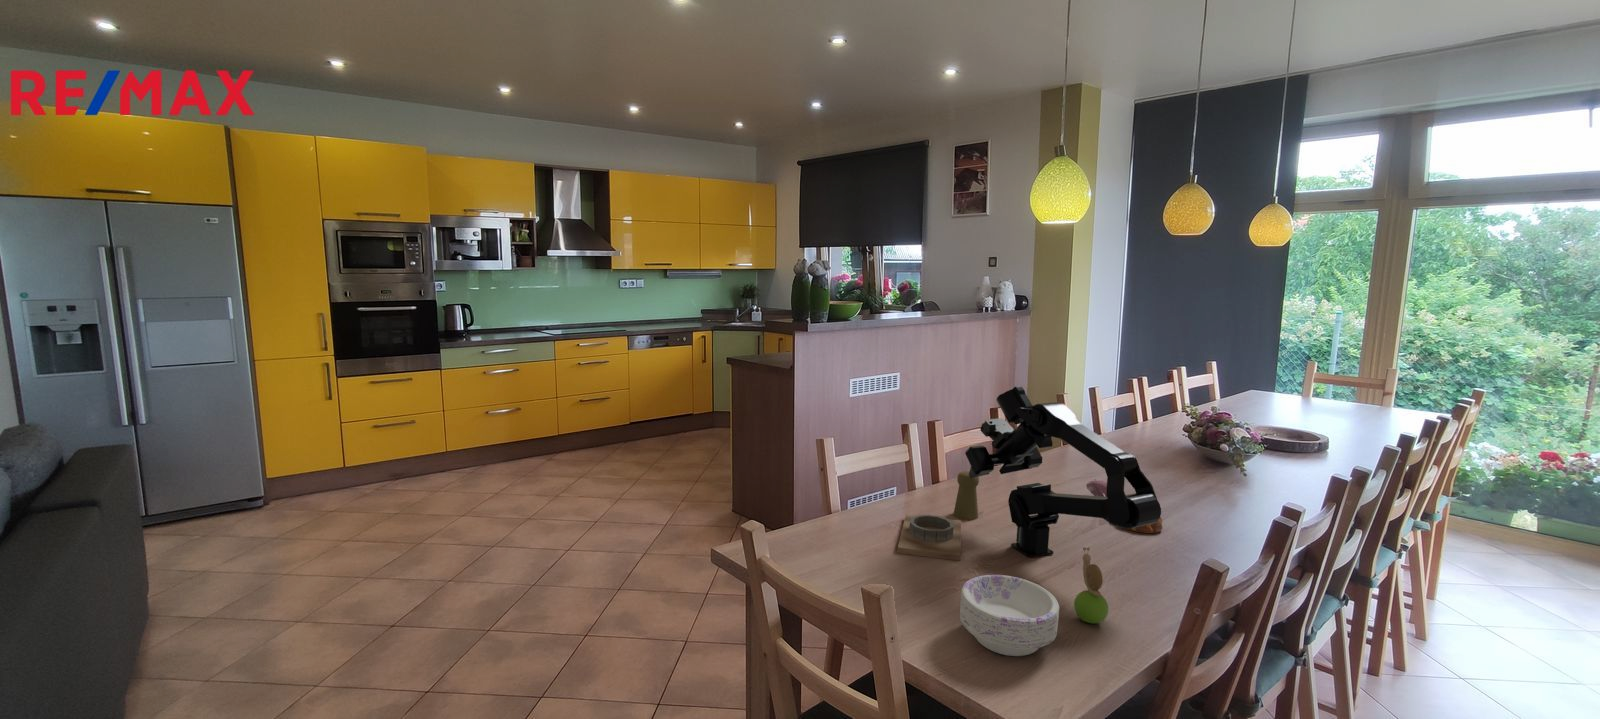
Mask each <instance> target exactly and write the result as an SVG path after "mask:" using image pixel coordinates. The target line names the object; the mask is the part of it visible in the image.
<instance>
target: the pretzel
mask: <svg viewBox="0 0 1600 719" xmlns="http://www.w3.org/2000/svg"><path fill="white" fill-rule="evenodd" d="M1122 529H1123V530H1127V531H1133V532H1136V533H1142V534H1156V533H1160V532H1161V531H1162V530H1163V519H1162V517H1161V516H1160V518H1159V520H1158V521H1157V522H1156V523H1152V524H1148V525H1143V526H1139V527H1135V528H1129V529H1126V528H1122Z"/></svg>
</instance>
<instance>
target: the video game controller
mask: <svg viewBox="0 0 1600 719" xmlns="http://www.w3.org/2000/svg"><path fill="white" fill-rule="evenodd" d="M1086 489H1087V490H1088V491H1089V493H1091V494H1092V496H1102V497H1107V494H1106V491H1107V481H1106V480H1105V481H1104V480H1097V479H1093V480H1091V481H1089V482H1088V483H1087V484H1086Z"/></svg>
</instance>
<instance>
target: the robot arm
mask: <svg viewBox="0 0 1600 719" xmlns="http://www.w3.org/2000/svg"><path fill="white" fill-rule="evenodd" d="M996 402H997V405H998V406H999V408H1000V410H1001V411H1002V413H1003V415H1004V416H1005V419H1006V420H1007V421H1006V420H1005V419H1004V418H1000V417H999V418H989V419H988V420H985V421H984V422H982V424H981V426H980V432H981V433H982V434H983V435H984V436H985V437H988V438H990V439H991V440H992V442H991V446H992V447H993V449H995V453H991V454H990V453H989V451H988V448H987V446H984V445H974V446H969V447H968V448H967V449H966V450H965V453H964V454H965V455H966V456H965V457H966V459H967V460H968V462H969V464H970V469H969V471H970V472H969V477H970V478H976V477H979V478H980V477H983V476H988V475H990V473H992V472H993V471H994V469H995V466H997V465H1002V466H1001V467H1000V469H999V470H998V471H999V473H1000V475H1006V474H1010V473H1015V472H1021V471H1025V470H1031V469H1033V468H1038V467H1040V465H1042V463H1043V456H1042V454H1041V453H1040V450H1039V449H1044V448H1052V447H1053V445H1054V444H1053V439H1052V437H1053V438H1056V439H1059V440H1062V441H1063V442H1064V443H1066V444H1068V445H1069V446H1071V447H1072V448H1074V449H1075V450H1077V451H1078V452H1080V453H1081V454H1083V456H1086V457H1087V458H1088V459H1090V460H1091V461H1093V462H1094V463H1096V464H1097V465H1098V466H1100V467H1101V468H1102V469H1104V470H1105V474H1106V482H1107V491H1106V494H1107V497H1105V496H1104V497H1102V496H1094V495H1086V494H1083V495H1082V494H1072V493H1071V494H1070V493H1068V494H1067V493H1056V492H1054V491H1053V490H1052V484H1051V483H1047V484H1041V482H1036V483H1035V482H1034V483H1030V484H1022V485H1017V486H1016V489H1012V490H1011V491H1010V493H1009V495H1008V496H1009V497H1008V507H1009V508H1008V509H1009V513H1010V514H1009V515H1010V518H1011V523H1013V524H1015V525H1016V527H1017V528H1016V540H1015V541H1016V542H1011V543H1010V546H1011V547H1012V548H1013V549H1015V550H1017V551H1018V552H1020V553H1021V554H1024V555H1025V556H1027V557H1029V558H1036V557H1040V556H1041V557H1043V556H1050V555H1054V551H1053V550H1052V549H1050V548H1049V541H1050V540H1049V538H1050V531H1051V530H1050V529H1051V528H1050V525H1055V524H1057V523H1058V521H1059V518H1060V515H1067V516H1068V515H1069V516H1078V517H1085V518H1086V517H1088V518H1094V519H1095V518H1098V519H1103V520H1104V521H1106V522H1107V523H1109V524H1110V525H1113V526H1116V527H1119V528H1121V529H1123V528H1126V529H1129V528H1135V527H1139V526H1143V525H1148V524H1152V523H1156V522H1157V521H1158V520H1159V518H1160V517H1161V515H1162V508H1161V504H1160V502H1159V501H1158V497H1157V496H1156V492H1155V489H1154V486H1153V485H1152V483H1151V481H1150V480H1149V479H1148V478H1147V476H1145V474H1144V472H1143V471H1142V470H1141V468H1140V465H1139V464H1140V463H1139V462H1138V460H1137V457H1136V456H1134V455H1133V454H1131V453H1129V452H1126V451H1124V450H1122V449H1121V448H1119V447H1118V446H1117V445H1115V444H1113V443H1112V442H1110V441H1109V440H1107V439H1106V438H1104V437H1102V436H1100V435H1099V434H1098V433H1096V432H1095V431H1093V430H1091V429H1090V428H1089V427H1087V426H1085V425H1083V424H1082V423H1081V422H1080V421H1079V420H1078V419H1077V416H1076V414H1075V413H1074V412H1073V411H1072V410H1071V409H1070V408H1069V407H1068V406H1067V405H1065V403H1062V402H1060V401H1056V402H1055V401H1054V402H1045V403H1043V402H1042V403H1036V404H1034V405H1033V404H1032V402H1031V401H1030V399H1029V397H1028V395H1027V394H1026V391H1025V389H1024V387H1023V386H1022V385H1020V386H1019V385H1017V386H1014V387H1013V388H1012V389H1009V390H1006V391H1005V392H1003V393H1000V394H999V395H998V396H997V397H996ZM1010 423H1011V424H1014V425H1017V427H1015V428H1013V427H1012V426H1011V425H1010ZM1038 448H1039V449H1038ZM1125 480H1126V481H1128V483H1129V484H1130V485H1131V487H1132V489H1134V492H1135V493H1129V494H1126V493H1125ZM1126 529H1125V530H1126Z"/></svg>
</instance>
